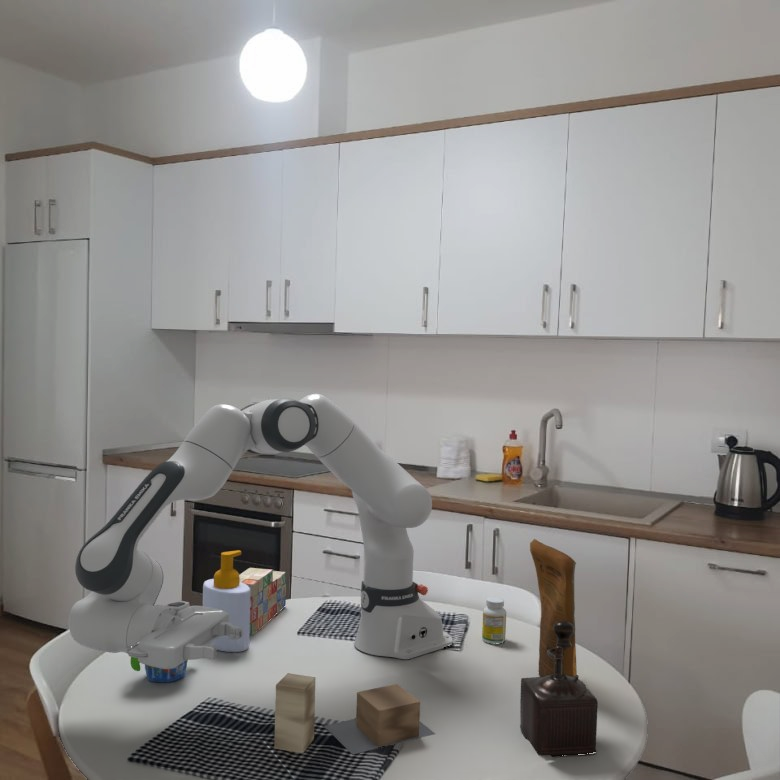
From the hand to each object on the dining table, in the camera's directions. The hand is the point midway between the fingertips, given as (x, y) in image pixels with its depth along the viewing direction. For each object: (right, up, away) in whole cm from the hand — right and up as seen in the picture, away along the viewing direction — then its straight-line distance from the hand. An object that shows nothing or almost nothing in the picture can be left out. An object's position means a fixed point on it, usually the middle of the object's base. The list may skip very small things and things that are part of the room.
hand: (228, 642), depth 134 cm
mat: (+25, -16, +3) cm, 30 cm away
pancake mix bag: (+60, -17, +26) cm, 68 cm away
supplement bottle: (+51, -15, +49) cm, 73 cm away
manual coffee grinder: (+56, -18, +5) cm, 59 cm away
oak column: (+11, -16, -2) cm, 20 cm away
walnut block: (+27, -16, +3) cm, 31 cm away
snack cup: (-17, -14, +24) cm, 33 cm away
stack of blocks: (-5, -13, +59) cm, 60 cm away
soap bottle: (-9, -14, +42) cm, 45 cm away
